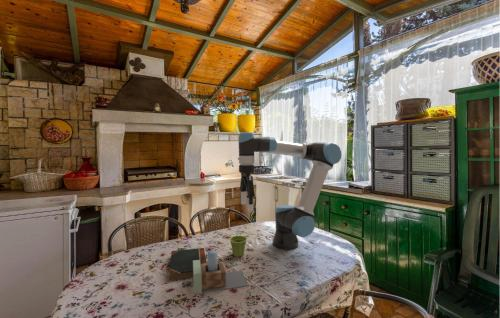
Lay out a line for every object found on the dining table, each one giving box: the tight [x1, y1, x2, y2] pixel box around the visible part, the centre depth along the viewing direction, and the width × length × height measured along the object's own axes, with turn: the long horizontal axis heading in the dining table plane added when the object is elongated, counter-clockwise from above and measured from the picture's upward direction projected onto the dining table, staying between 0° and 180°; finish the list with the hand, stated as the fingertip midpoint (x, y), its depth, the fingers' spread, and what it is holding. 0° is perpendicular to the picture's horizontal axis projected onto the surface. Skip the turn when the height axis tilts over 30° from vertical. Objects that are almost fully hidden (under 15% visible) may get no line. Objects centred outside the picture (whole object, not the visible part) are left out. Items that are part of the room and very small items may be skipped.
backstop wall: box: [192, 260, 202, 294], centre depth 106 cm, size 3×12×8 cm, turn 15°
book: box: [168, 247, 208, 281], centre depth 123 cm, size 17×4×25 cm
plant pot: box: [229, 235, 248, 258], centre depth 135 cm, size 9×9×9 cm
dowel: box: [207, 249, 218, 272], centre depth 107 cm, size 4×4×12 cm
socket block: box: [200, 260, 226, 289], centre depth 108 cm, size 10×10×6 cm
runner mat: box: [201, 270, 249, 294], centre depth 109 cm, size 20×13×1 cm, turn 105°
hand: (246, 207), depth 122 cm, fingers open, 13 cm apart
